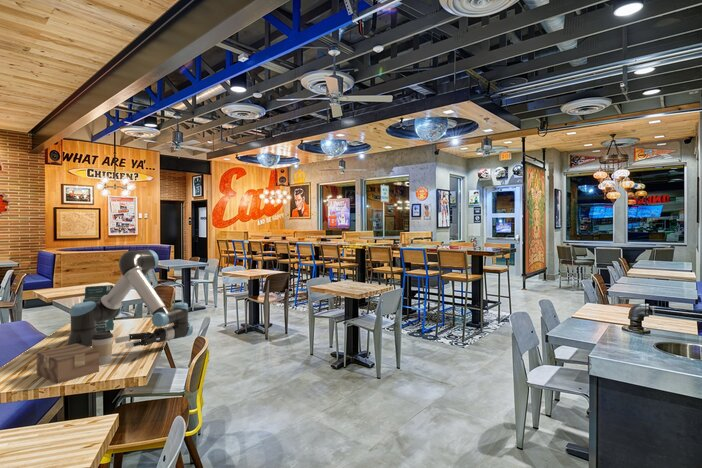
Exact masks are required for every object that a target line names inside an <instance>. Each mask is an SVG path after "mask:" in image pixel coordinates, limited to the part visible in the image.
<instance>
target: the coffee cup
mask: <svg viewBox="0 0 702 468" xmlns="http://www.w3.org/2000/svg"><path fill="white" fill-rule="evenodd" d="M91 339H92V346H91V348H95V349H98V350H99V366H105V365H108V364H110V363H111V362H112V353H113V342H114V341H113V339H114V334H113V333H112V332H111V331H103V332H97V333H95V334H94V335H93V336H92V338H91Z"/></svg>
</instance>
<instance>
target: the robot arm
mask: <svg viewBox="0 0 702 468" xmlns="http://www.w3.org/2000/svg"><path fill="white" fill-rule="evenodd" d="M159 262H160V261H159V256H158V253H156V252H155V251H154V250H152V249H139V250H127V251H126V252H124V253H122V255H121V256H120V258H119V261H118V268H119V271H120V273H121V277H120V278H118V281H117V282H116V283H115V284H114V285H113V286H114V287H113V288H112V289H111V291H110V292H109V293H108V295H104V296H103V297H102V298H101V299H100V300H99V302H97V303H95V302H93V301H88V302H83V301H82V302H79V303H76V304H73V305H72V306H71V308H70V313H69V315H70V334H69V337H68V339H67V342H66V346H68V345H72V344H81V345H84V346H88V347H92V339H91V338H92V336H93V335H94V334H95V333H97V331H96V323H98V322H101V321H106V320H110V319H113V320H114V319H115V318H117V317H119V315H120V314H121V312H122V308H123V307H122V301H123V300H124V299H125V298H126V296H127V295H128V294H129V292H131V290H132V288H133V289H135V291H136V294H138V296H139V297H140V299H141V300H142V301H143V303H144V304H145V306H146V308H147V309H148V310H149V312H150V313H151V315H152V317H151V323H152V325H153V326H155V327H157V328H155V329H154V331H153V332H151V331H146V332H138V333H129V334H128V335H123V336H120V337H119V336H118V337H115V339H114V342H115V344H120V343H124V342H125V349H131V348H136V347H140V346H142V347H143V346H144V347H146V346H149V345H152V344H153V343H157V344H159V343H162V342H167V341H168V342H170V341H171V340H176V339H181V338H186V337H189V336H191V335H192V334H193V332H194V328H193V324H192V323H191V322H189V304H188V303H187V302H175V303H174V304H173V308H170V309H169V308H167V306H166V305H165V303H164V301H163V300H162V298H161V297H160V296H159V295H158V293H157V291H156V290H155V289H154V286H152V284H151V283H150V281H149V280H148V279H147V277H146V275H147V274H148V273H149V271H150V270H154V269H156V268H157V267H158V265H159ZM170 324H173V325H170Z"/></svg>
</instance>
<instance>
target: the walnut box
mask: <svg viewBox="0 0 702 468" xmlns="http://www.w3.org/2000/svg"><path fill="white" fill-rule="evenodd" d="M99 372H100V365H99V350H98V349H95V348H92V346H84V345H81V344H72V345H68V346H67V345H64V346H59V347H55V348H50V349H46V350H42V351H37V352H36V376H38V377H41V378H43V379H46V380H48V381H51V382H53V383H55V382H56V383H55V384H58V383H59V384H62V383H65V381H66V382H69V381H72V380H76V379H78V378H81V377H85V376H89V375H92V374H96V373H99ZM68 380H69V381H68Z"/></svg>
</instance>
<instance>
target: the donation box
mask: <svg viewBox="0 0 702 468" xmlns="http://www.w3.org/2000/svg"><path fill="white" fill-rule="evenodd" d="M113 287H114V285H113V284H110V285H93V286H85V288H84V298H83V300H82V302H88V301H93V302H95V303H97V302H99V300H100V299H101V298H102V297H103V296H104V295H108V293H109V292H110V291H111V289H112V288H113ZM114 327H115V323H114V318H113V319H110V320H106V321H101V322H98V323H96V331H97V332H103V331H110V330H111V331H113V330H114ZM111 331H110V332H111Z"/></svg>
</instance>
